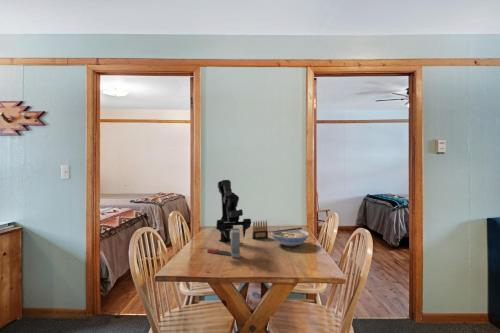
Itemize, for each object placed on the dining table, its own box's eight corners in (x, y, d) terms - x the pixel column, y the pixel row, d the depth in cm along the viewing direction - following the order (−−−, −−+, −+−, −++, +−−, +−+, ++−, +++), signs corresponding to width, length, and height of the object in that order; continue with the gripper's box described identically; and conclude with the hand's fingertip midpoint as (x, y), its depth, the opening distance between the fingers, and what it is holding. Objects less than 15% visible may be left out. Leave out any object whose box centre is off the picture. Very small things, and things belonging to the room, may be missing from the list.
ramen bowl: (280, 252, 149) (280, 237, 149) (263, 242, 170) (263, 229, 170) (318, 247, 158) (318, 233, 158) (297, 238, 179) (297, 226, 179)
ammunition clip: (253, 239, 178) (253, 221, 178) (252, 238, 179) (252, 220, 180) (268, 238, 181) (268, 220, 181) (267, 237, 183) (267, 219, 183)
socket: (230, 251, 144) (230, 228, 144) (238, 250, 145) (238, 228, 145) (232, 253, 140) (232, 230, 140) (239, 253, 141) (239, 230, 141)
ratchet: (209, 251, 151) (209, 242, 151) (243, 254, 145) (243, 245, 145) (203, 254, 145) (203, 245, 145) (238, 258, 138) (238, 248, 138)
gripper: (216, 204, 144) (219, 229, 134) (250, 203, 149) (255, 227, 138) (215, 217, 152) (217, 241, 141) (247, 215, 156) (251, 239, 146)
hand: (235, 237), depth 141 cm, fingers open, 9 cm apart
